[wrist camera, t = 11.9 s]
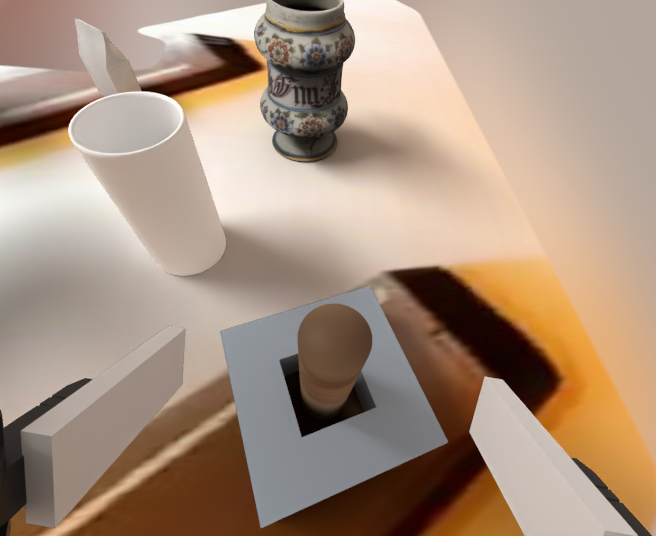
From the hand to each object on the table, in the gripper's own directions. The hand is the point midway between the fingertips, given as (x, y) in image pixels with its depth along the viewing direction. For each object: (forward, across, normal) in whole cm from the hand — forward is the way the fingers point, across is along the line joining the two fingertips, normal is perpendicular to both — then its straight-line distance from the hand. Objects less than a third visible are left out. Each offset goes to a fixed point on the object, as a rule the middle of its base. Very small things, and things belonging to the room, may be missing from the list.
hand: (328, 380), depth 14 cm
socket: (+14, 0, -10) cm, 17 cm away
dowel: (+14, 0, -10) cm, 17 cm away
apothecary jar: (+40, -8, +15) cm, 44 cm away
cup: (+24, -18, 0) cm, 30 cm away
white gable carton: (+44, -40, +19) cm, 62 cm away
